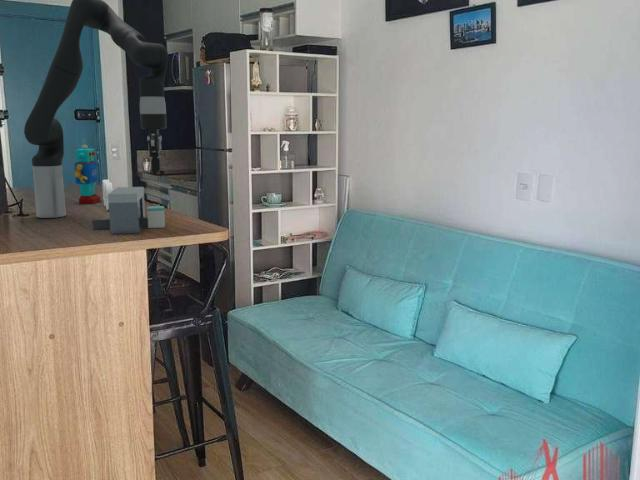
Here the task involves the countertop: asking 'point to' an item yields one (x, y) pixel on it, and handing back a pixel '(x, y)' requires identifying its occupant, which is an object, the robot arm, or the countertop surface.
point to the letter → (106, 192)
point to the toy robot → (86, 175)
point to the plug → (152, 221)
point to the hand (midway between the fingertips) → (156, 171)
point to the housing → (126, 209)
